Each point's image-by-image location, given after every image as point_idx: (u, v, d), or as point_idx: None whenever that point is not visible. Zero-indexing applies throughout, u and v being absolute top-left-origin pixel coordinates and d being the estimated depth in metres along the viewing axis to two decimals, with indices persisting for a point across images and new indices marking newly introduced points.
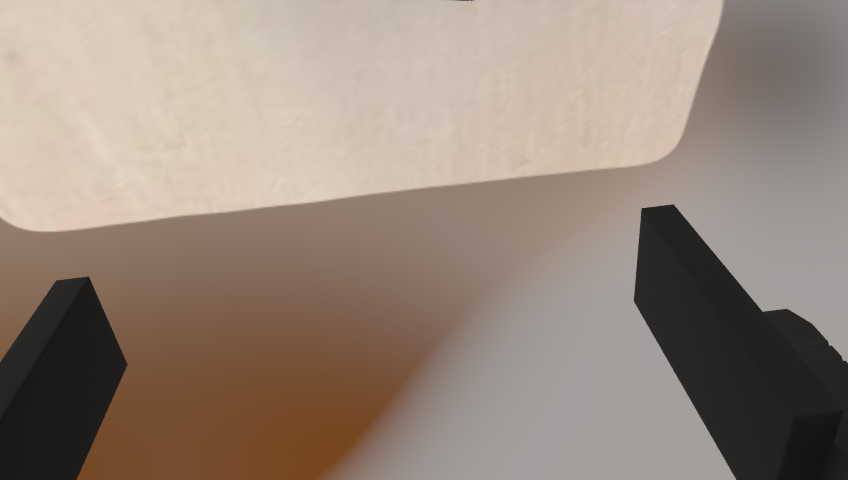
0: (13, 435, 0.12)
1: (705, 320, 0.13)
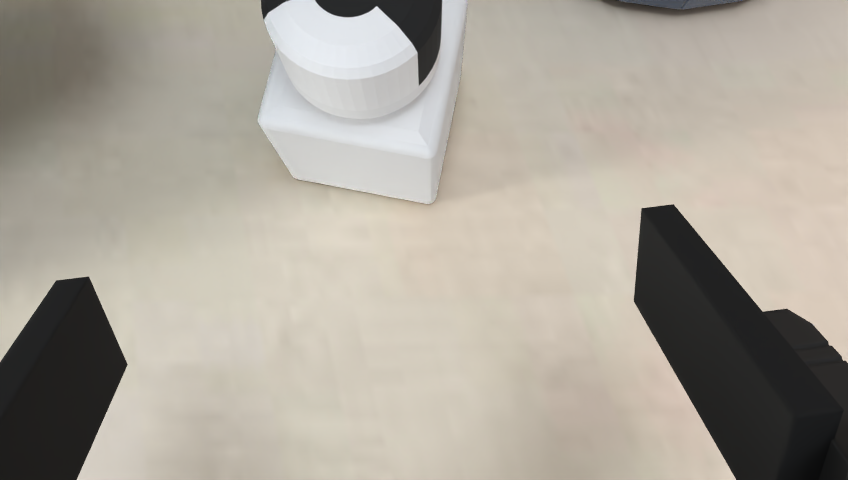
0: (13, 435, 0.12)
1: (705, 320, 0.13)
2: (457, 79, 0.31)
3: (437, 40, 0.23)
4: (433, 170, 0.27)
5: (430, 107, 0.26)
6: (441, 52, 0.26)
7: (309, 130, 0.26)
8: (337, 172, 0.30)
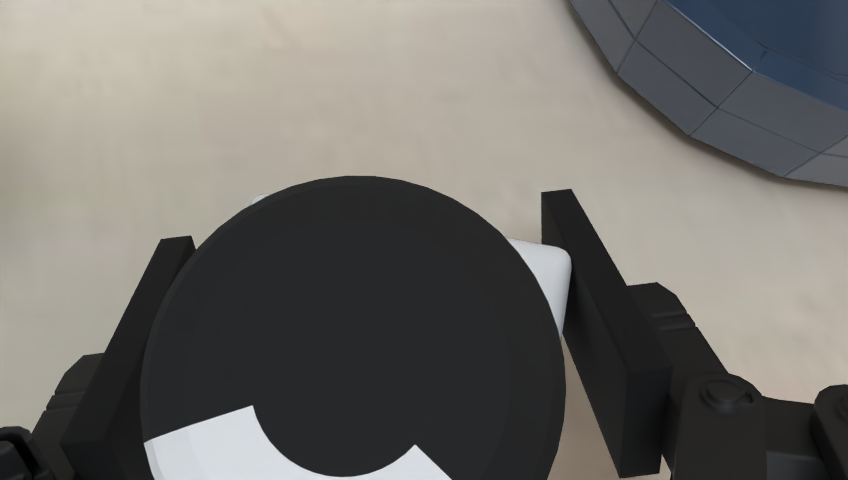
0: None
1: (580, 292, 0.14)
2: None
3: None
4: None
5: None
6: None
7: None
8: None
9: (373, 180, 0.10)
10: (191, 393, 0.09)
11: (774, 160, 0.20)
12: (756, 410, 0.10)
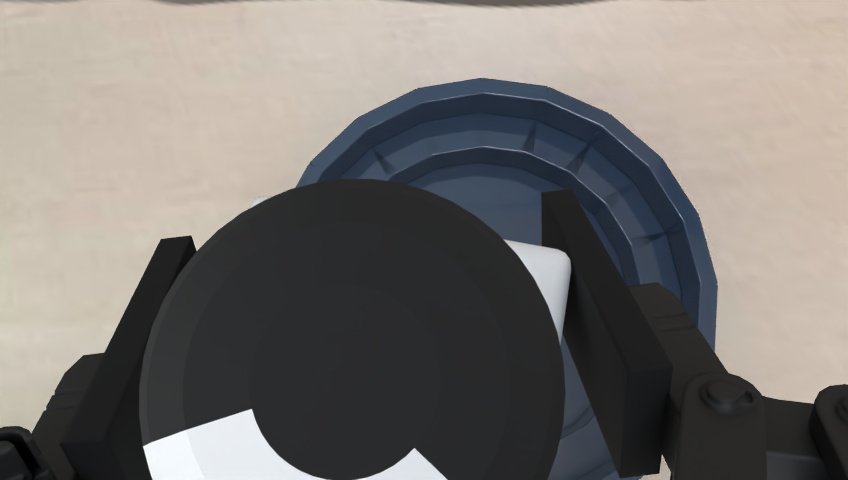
0: None
1: (580, 292, 0.14)
2: None
3: None
4: None
5: None
6: None
7: None
8: None
9: (372, 183, 0.10)
10: (190, 397, 0.09)
11: None
12: (756, 410, 0.10)
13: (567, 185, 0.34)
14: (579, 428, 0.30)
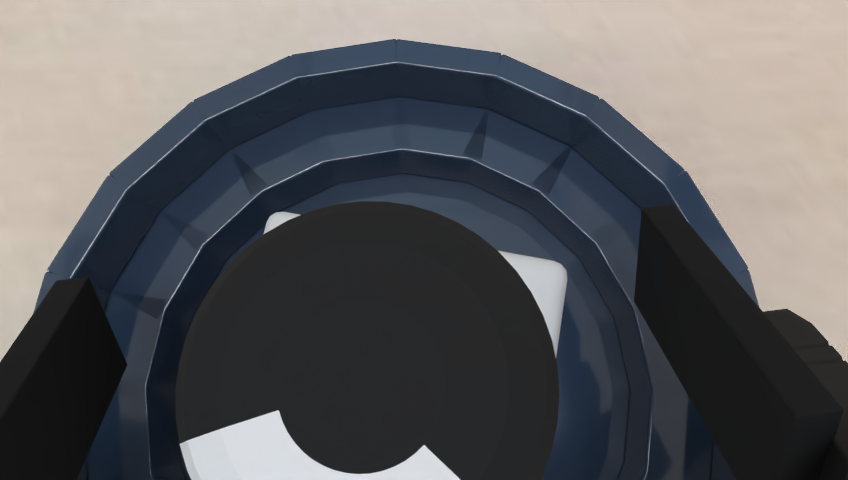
0: (13, 435, 0.12)
1: (705, 320, 0.13)
2: None
3: None
4: None
5: None
6: None
7: None
8: None
9: (385, 205, 0.11)
10: (224, 400, 0.10)
11: None
12: None
13: (537, 210, 0.22)
14: None
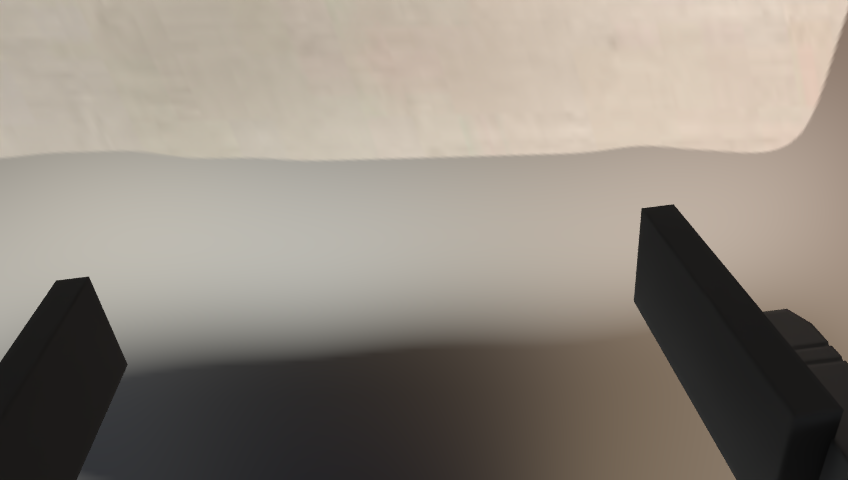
0: (13, 435, 0.12)
1: (705, 320, 0.13)
2: None
3: None
4: None
5: None
6: None
7: None
8: None
9: None
10: None
11: None
12: None
13: None
14: None
